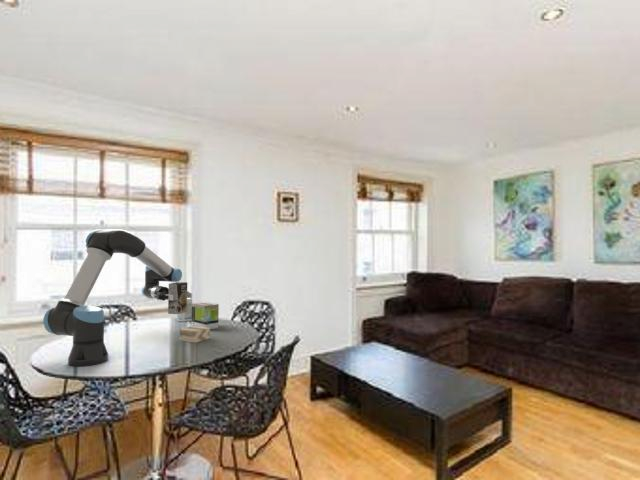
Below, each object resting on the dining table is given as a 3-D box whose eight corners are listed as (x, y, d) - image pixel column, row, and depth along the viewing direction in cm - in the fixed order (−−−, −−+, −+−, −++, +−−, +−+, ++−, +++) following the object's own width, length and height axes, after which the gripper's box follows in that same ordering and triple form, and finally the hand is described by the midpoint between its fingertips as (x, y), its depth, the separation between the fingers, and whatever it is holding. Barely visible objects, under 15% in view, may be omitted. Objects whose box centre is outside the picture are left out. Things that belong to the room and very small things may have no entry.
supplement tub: (192, 318, 271) (193, 297, 271) (191, 321, 262) (191, 299, 262) (177, 319, 269) (178, 297, 269) (175, 322, 260) (176, 299, 260)
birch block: (194, 343, 209) (195, 331, 209) (179, 340, 214) (179, 329, 214) (209, 338, 219) (210, 327, 219) (194, 336, 224) (195, 325, 224)
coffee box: (178, 314, 211) (179, 283, 211) (167, 314, 212) (167, 283, 212) (187, 311, 220) (187, 282, 220) (176, 311, 221) (177, 281, 221)
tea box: (219, 328, 244) (219, 303, 244) (204, 330, 236) (204, 305, 236) (205, 324, 254) (205, 301, 254) (190, 327, 246) (191, 302, 246)
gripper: (179, 297, 237) (200, 301, 223) (140, 301, 219) (161, 306, 205) (179, 284, 237) (201, 287, 223) (140, 288, 219) (162, 291, 205)
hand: (182, 296), depth 214 cm, fingers closed on coffee box, 11 cm apart
